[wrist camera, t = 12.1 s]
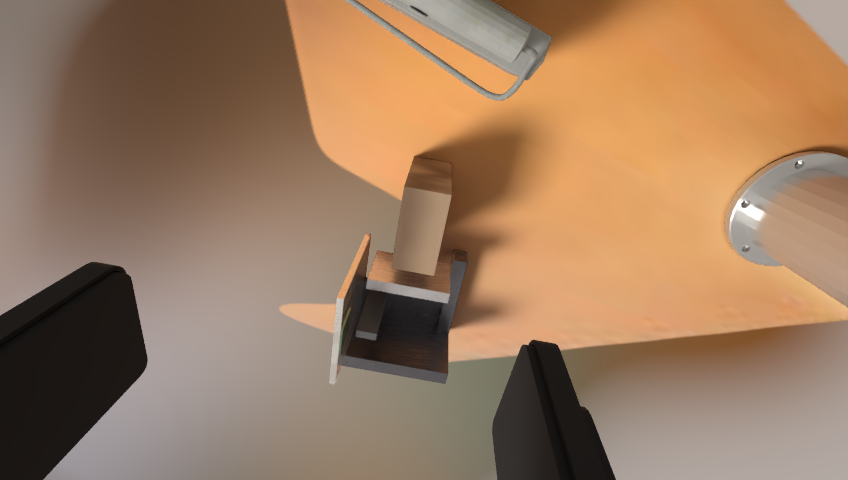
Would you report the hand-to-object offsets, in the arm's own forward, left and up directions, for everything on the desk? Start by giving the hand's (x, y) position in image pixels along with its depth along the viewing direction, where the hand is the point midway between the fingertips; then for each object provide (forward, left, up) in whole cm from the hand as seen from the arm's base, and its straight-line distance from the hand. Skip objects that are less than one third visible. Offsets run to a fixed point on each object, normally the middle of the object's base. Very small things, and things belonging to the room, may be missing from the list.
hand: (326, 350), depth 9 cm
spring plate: (-2, +16, -31) cm, 35 cm away
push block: (-2, +8, -33) cm, 34 cm away
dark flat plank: (+1, +19, -32) cm, 37 cm away
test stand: (-2, +20, -33) cm, 39 cm away
